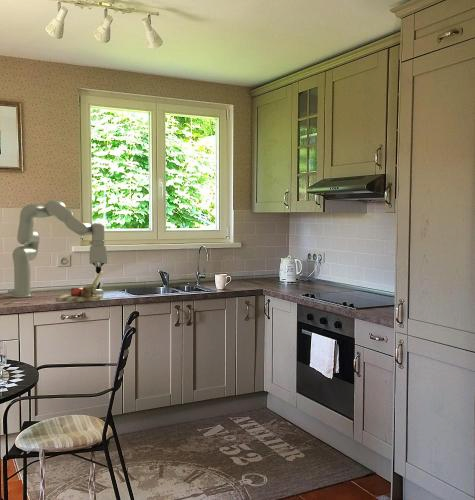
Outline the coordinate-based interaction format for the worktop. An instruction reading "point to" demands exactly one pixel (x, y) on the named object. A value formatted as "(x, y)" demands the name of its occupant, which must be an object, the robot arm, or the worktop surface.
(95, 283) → the flap
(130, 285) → the worktop surface
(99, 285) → the hinge
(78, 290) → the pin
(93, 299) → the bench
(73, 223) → the robot arm
